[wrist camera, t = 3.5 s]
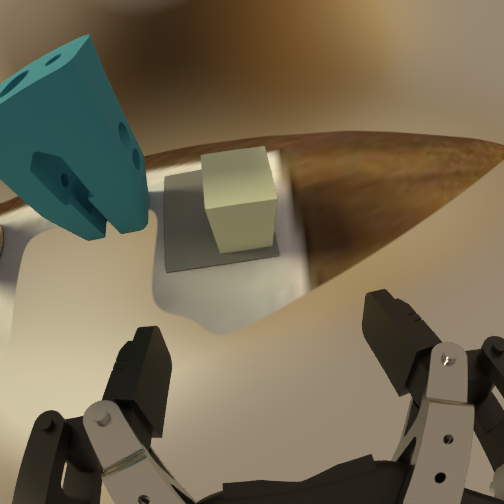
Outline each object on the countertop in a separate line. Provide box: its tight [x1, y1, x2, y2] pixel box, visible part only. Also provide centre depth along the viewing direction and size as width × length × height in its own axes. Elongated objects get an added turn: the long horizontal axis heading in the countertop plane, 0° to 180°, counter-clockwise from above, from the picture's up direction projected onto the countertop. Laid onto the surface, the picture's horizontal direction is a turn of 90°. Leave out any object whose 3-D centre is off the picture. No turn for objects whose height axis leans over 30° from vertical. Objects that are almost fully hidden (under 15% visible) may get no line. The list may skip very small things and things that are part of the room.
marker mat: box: [164, 170, 279, 273], centre depth 28 cm, size 11×12×1 cm
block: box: [0, 35, 149, 241], centre depth 20 cm, size 12×5×20 cm, turn 99°
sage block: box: [201, 146, 278, 254], centre depth 24 cm, size 5×5×8 cm
